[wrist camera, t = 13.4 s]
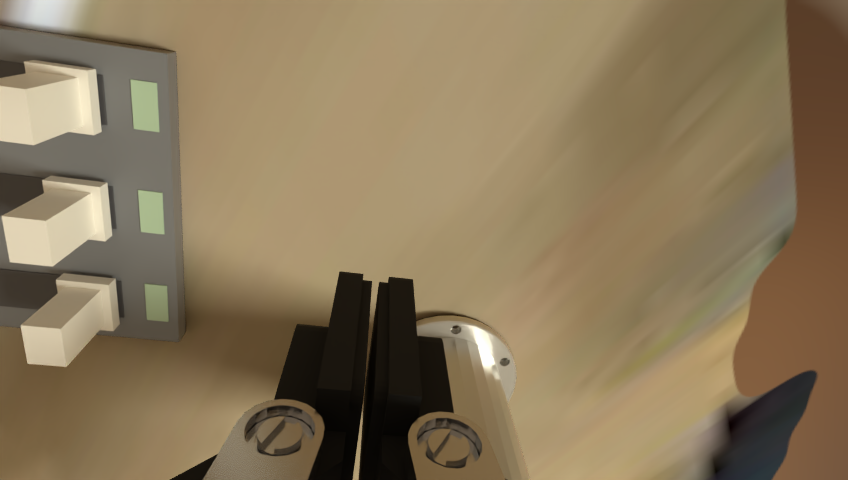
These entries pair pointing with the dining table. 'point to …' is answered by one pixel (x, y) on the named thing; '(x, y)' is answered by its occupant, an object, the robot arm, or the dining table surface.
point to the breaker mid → (58, 221)
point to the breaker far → (70, 319)
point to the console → (125, 175)
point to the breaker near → (48, 103)
